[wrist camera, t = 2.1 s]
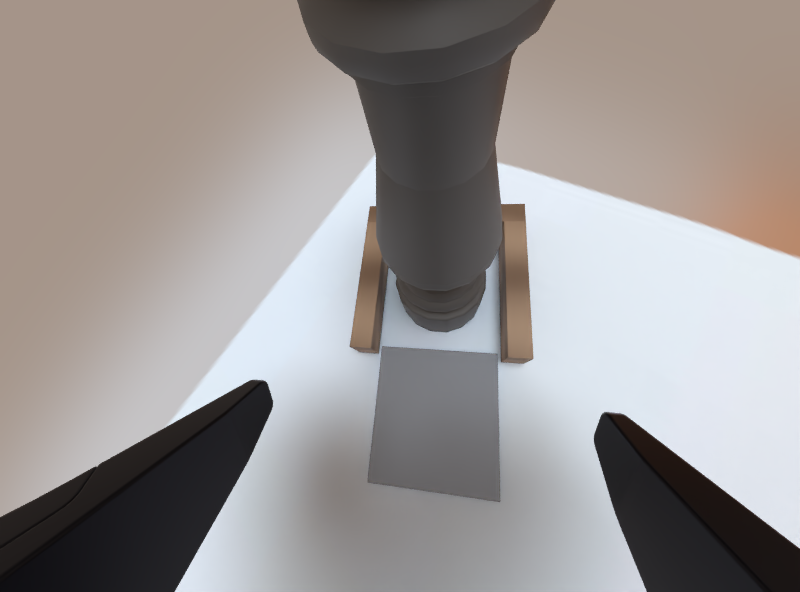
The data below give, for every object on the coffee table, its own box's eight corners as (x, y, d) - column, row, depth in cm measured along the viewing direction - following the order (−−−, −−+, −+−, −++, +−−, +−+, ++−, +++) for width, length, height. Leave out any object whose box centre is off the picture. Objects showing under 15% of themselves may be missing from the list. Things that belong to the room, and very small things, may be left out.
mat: (499, 500, 18) (500, 501, 18) (368, 481, 20) (367, 482, 19) (496, 354, 21) (497, 354, 21) (383, 346, 22) (382, 346, 22)
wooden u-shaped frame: (523, 363, 21) (533, 359, 18) (359, 351, 23) (349, 346, 20) (517, 222, 24) (524, 204, 22) (376, 223, 26) (370, 206, 24)
